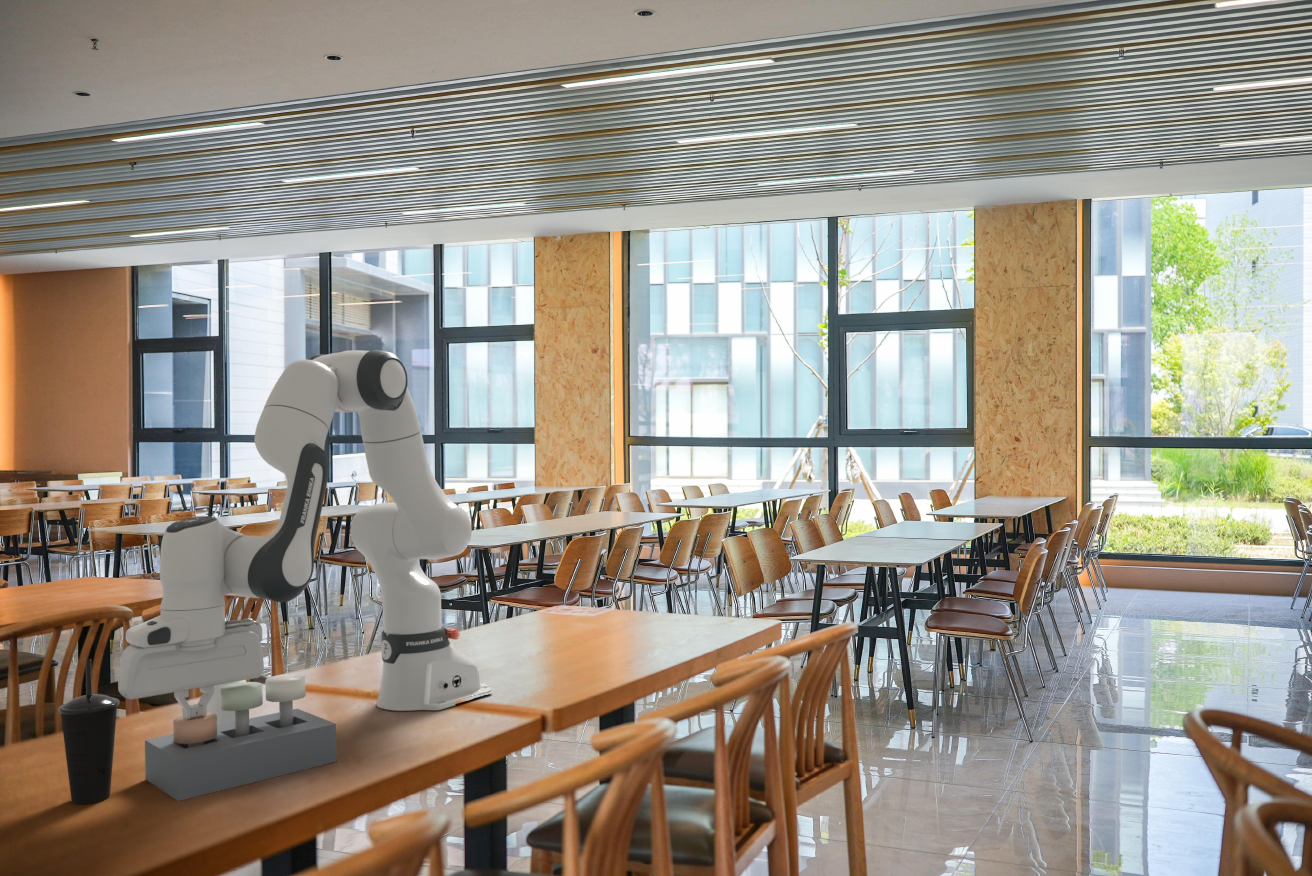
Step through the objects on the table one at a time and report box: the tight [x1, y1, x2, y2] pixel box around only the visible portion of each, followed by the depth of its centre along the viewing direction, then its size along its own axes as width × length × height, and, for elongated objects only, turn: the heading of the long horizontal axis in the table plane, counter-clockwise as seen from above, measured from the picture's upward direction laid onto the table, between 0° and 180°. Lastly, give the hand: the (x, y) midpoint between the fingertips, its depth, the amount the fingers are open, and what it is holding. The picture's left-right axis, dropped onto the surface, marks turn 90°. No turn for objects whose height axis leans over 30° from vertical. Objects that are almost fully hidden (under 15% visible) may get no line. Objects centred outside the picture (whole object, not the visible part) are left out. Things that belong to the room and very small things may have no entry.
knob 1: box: [172, 713, 217, 748], centre depth 151 cm, size 6×6×8 cm
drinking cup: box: [58, 658, 120, 806], centre depth 144 cm, size 8×8×20 cm
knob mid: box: [221, 681, 264, 737], centre depth 156 cm, size 6×6×8 cm
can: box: [207, 680, 247, 725], centre depth 171 cm, size 6×6×12 cm
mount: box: [144, 708, 338, 802], centre depth 156 cm, size 24×14×6 cm, turn 134°
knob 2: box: [264, 673, 307, 728], centre depth 161 cm, size 6×6×8 cm
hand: (194, 717), depth 151 cm, fingers closed, pressing on knob 1
